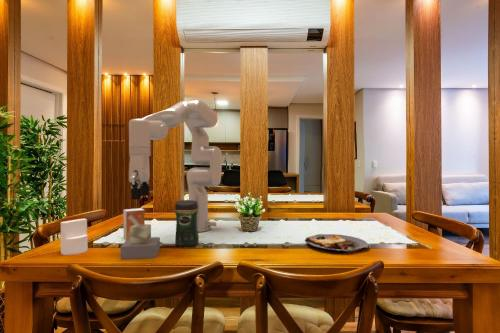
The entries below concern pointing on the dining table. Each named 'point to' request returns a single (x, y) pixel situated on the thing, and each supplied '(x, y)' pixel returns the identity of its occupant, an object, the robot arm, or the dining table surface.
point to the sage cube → (140, 234)
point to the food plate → (336, 242)
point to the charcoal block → (140, 249)
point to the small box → (132, 219)
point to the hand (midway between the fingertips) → (140, 197)
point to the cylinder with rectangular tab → (74, 237)
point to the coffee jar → (186, 223)
